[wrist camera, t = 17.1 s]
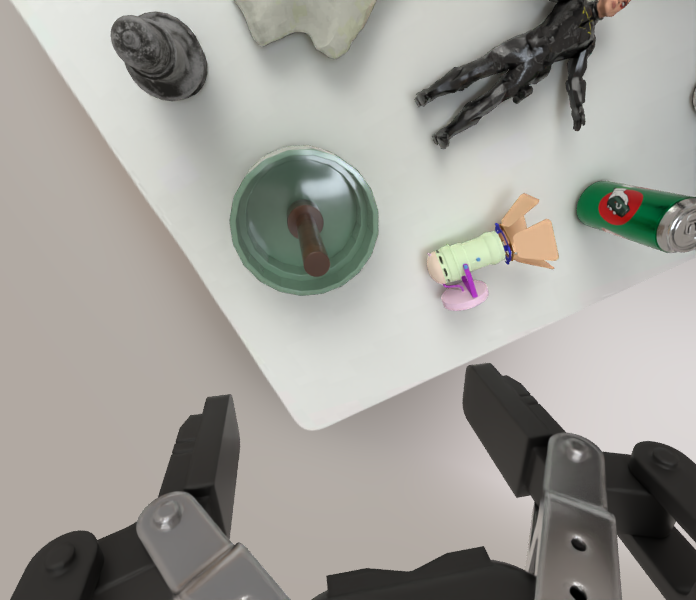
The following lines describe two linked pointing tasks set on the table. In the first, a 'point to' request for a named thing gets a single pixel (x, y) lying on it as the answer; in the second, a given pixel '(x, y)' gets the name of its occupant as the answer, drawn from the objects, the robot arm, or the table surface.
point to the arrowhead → (308, 21)
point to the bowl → (271, 218)
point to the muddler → (309, 235)
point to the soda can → (640, 215)
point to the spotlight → (492, 254)
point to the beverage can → (694, 99)
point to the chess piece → (160, 54)
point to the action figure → (527, 64)
